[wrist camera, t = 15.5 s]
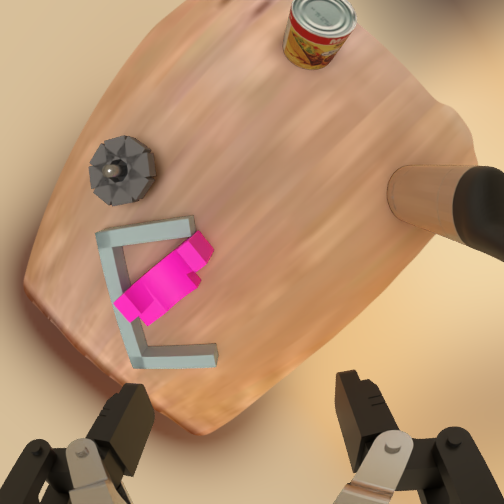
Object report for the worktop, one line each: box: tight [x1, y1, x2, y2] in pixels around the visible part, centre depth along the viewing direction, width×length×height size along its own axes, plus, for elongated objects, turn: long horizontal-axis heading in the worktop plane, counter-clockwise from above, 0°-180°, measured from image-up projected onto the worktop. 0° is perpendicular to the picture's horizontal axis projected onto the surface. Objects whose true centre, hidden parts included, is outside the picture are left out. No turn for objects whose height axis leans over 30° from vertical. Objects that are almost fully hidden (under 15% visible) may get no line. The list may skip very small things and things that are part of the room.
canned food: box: [283, 0, 357, 70], centre depth 31 cm, size 8×8×12 cm
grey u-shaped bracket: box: [95, 215, 218, 369], centre depth 45 cm, size 15×24×4 cm, turn 7°
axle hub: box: [102, 161, 128, 181], centre depth 37 cm, size 4×4×10 cm
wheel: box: [89, 135, 156, 206], centre depth 36 cm, size 9×9×2 cm
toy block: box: [113, 230, 214, 326], centre depth 42 cm, size 15×6×8 cm, turn 127°
